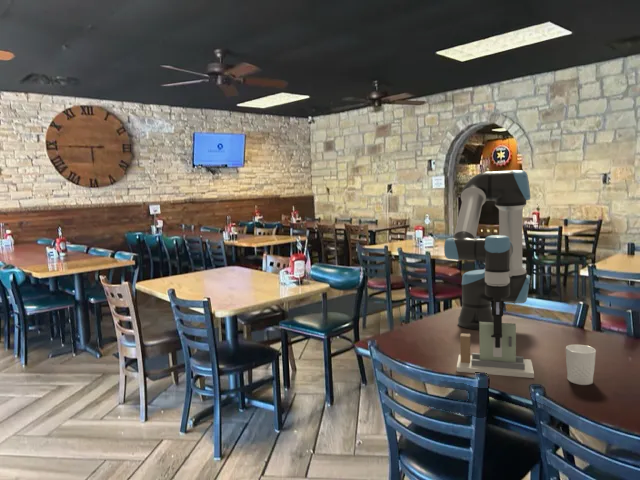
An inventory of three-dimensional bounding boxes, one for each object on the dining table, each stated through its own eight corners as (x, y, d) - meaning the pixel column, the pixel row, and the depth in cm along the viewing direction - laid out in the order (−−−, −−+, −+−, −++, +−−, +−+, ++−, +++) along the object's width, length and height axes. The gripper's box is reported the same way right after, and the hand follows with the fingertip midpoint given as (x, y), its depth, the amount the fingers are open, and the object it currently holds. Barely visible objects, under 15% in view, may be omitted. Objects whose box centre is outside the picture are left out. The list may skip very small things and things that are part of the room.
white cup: (594, 388, 141) (595, 354, 140) (564, 383, 145) (564, 350, 144) (595, 378, 148) (596, 346, 146) (566, 374, 152) (567, 343, 151)
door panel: (479, 361, 158) (479, 325, 157) (479, 356, 162) (479, 321, 160) (515, 363, 154) (516, 327, 153) (515, 359, 158) (515, 323, 157)
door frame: (456, 371, 157) (456, 340, 156) (458, 358, 168) (458, 329, 167) (534, 378, 150) (534, 345, 148) (530, 364, 161) (531, 333, 160)
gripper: (510, 289, 147) (510, 364, 149) (509, 279, 162) (508, 347, 164) (484, 288, 149) (485, 362, 152) (485, 278, 164) (485, 345, 167)
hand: (497, 354), depth 158 cm, fingers closed on door panel, 3 cm apart
